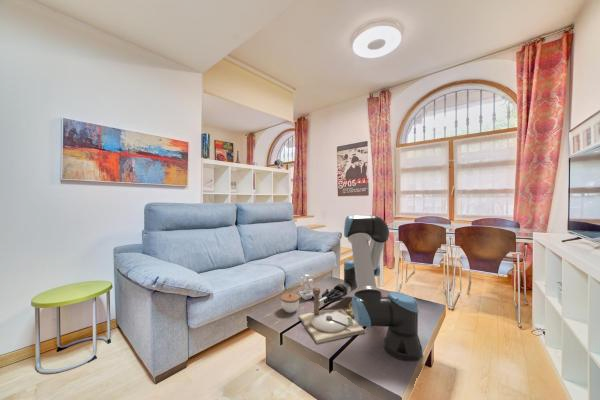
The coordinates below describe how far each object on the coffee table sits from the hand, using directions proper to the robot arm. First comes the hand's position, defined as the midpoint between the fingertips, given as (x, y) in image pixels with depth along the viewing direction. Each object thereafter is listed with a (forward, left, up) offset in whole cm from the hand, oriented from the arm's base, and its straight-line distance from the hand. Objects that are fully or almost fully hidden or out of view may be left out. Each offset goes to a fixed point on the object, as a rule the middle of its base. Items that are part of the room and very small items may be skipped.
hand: (319, 303), depth 128 cm
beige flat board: (-7, -2, -8) cm, 11 cm away
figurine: (+27, -3, -9) cm, 28 cm away
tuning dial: (-8, -3, -7) cm, 11 cm away
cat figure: (-2, -29, -9) cm, 31 cm away
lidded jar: (+15, +12, -9) cm, 21 cm away
